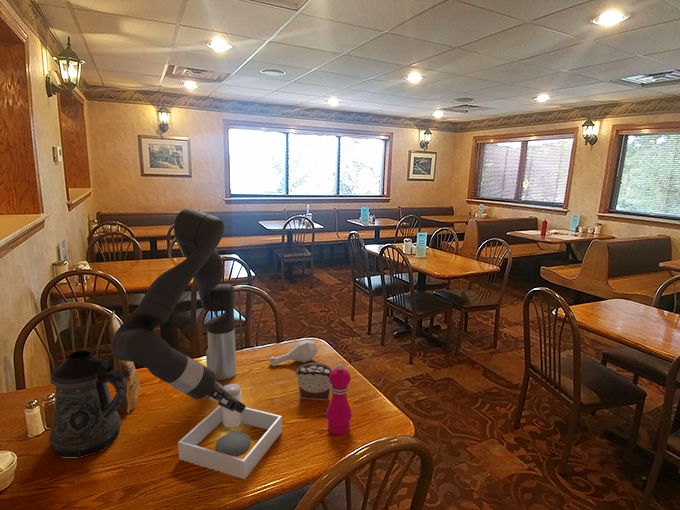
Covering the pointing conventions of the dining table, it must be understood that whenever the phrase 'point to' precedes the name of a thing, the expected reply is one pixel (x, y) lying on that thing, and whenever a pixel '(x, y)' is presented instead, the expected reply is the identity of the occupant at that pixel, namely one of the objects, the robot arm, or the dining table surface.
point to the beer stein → (85, 405)
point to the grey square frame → (224, 461)
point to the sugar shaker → (233, 416)
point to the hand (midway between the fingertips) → (238, 404)
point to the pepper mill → (339, 402)
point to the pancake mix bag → (125, 373)
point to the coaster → (233, 443)
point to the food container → (314, 381)
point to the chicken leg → (297, 353)
